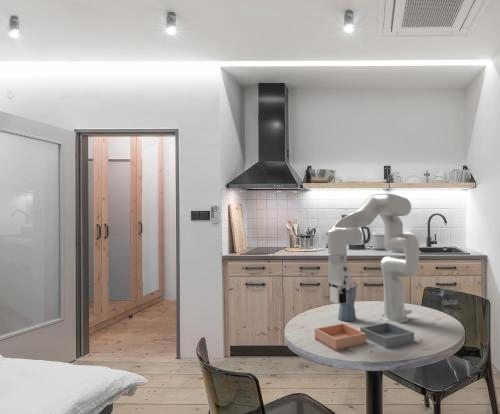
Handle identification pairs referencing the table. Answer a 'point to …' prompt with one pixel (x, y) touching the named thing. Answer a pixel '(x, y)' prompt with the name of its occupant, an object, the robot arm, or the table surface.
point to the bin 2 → (387, 334)
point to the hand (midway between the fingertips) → (338, 300)
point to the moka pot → (348, 305)
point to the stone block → (335, 294)
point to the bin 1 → (339, 336)
